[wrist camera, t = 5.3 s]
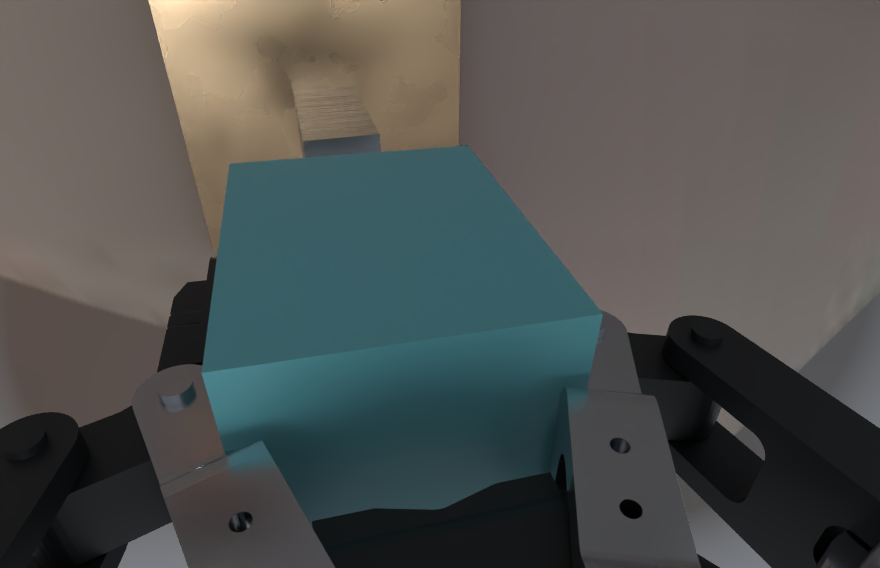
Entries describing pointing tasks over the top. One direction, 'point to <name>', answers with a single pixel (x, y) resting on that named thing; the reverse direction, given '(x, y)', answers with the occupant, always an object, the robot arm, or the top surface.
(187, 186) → the top surface
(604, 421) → the robot arm
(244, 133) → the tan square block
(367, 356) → the turquoise rectangular block
